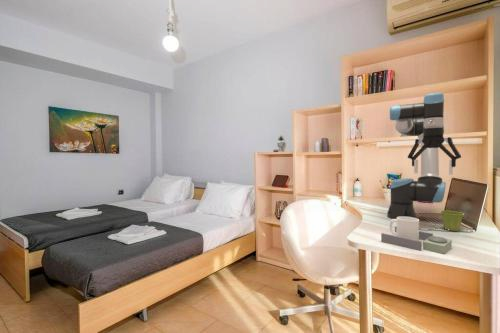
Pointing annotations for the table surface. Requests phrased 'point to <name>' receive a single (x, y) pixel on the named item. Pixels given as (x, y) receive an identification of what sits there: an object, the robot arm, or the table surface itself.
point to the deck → (420, 242)
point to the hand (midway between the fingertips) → (432, 173)
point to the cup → (406, 227)
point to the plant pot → (452, 220)
